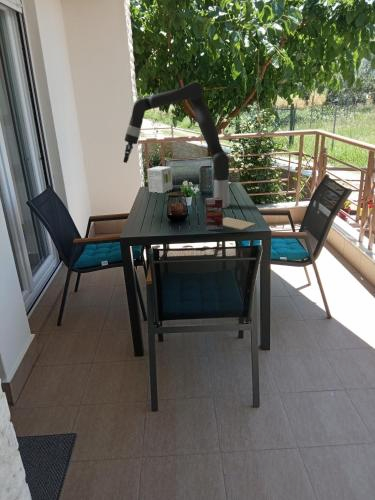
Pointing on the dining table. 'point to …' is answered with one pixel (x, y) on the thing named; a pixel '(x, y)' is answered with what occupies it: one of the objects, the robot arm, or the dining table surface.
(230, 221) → the cork placemat
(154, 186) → the supplement box
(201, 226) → the dining table surface
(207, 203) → the supplement box
